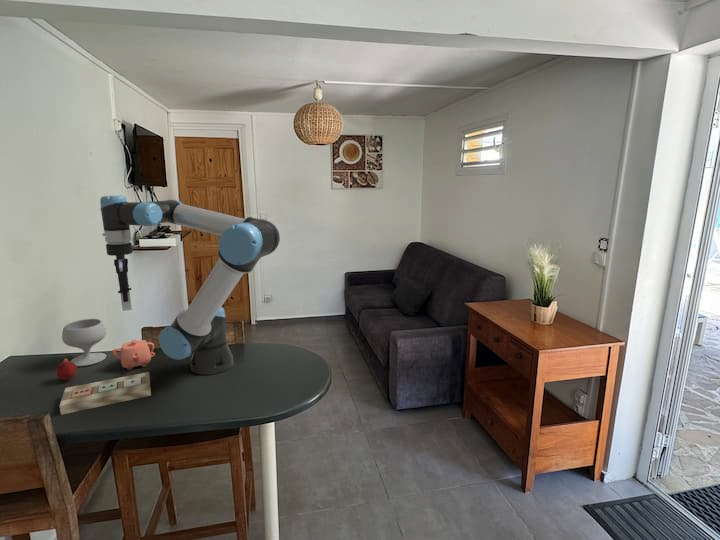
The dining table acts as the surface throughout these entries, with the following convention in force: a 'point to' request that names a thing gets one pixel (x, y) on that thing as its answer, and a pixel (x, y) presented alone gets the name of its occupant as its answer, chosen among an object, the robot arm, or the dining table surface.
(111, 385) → the key two
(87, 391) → the key three
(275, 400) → the dining table surface
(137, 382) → the key one
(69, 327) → the chalice
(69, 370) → the onion
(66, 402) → the key board
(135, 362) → the teapot
